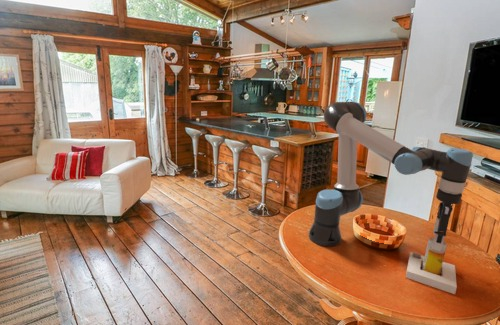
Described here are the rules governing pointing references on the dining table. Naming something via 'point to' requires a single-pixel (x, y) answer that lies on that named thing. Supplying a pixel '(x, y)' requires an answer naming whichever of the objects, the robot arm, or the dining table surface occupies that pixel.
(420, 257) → the socket plate
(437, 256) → the beer can
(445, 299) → the dining table surface
